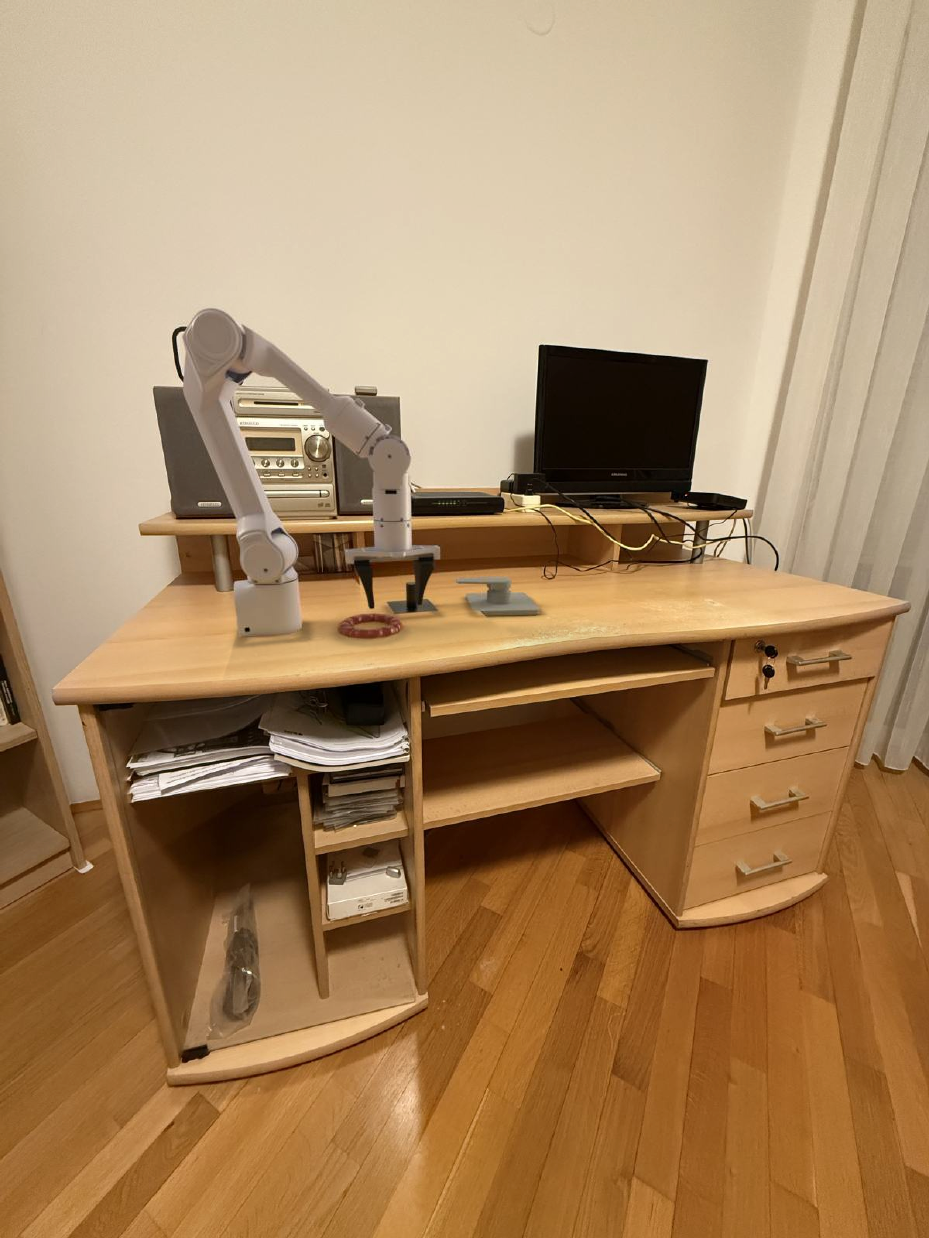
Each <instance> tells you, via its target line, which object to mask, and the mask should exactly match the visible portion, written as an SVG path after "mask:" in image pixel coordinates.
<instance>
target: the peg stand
mask: <svg viewBox="0 0 929 1238" xmlns="http://www.w3.org/2000/svg"><path fill="white" fill-rule="evenodd" d="M386 603H387V604H388V606H389V608H390V609H391V611H392V613H393V614H394V615H400V614H414V613H426V612H437V611H439V609H438V608H437V607H436V606H435V605H434V604H433V603H432V602H431V601H430V600H429V599H428V598H423V601H422V605H417V603H416V602H415V581H408V582H406V583H405V600H392V601H386Z"/></svg>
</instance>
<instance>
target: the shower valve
mask: <svg viewBox="0 0 929 1238" xmlns="http://www.w3.org/2000/svg"><path fill="white" fill-rule="evenodd" d="M455 583H456V584H458V585H486V587H487V588H488V589H487V591H486V592H468V593H466V594H465V601H467V602H468V603H469V604H470V606H471V608H472V610H473V611H475V612H480V613H481V614H482V615H484V616H485V617H496V616H498V617H499V616H536V615H539V614H540V607H539V606H538V605H537V604H536V602H534V601H533V600H532V598H531V597H530V596H529V595H528V594H527V593H526V592H523V591H522V592H521V591H520V592H519V591H518V592H517V591H515V592H514V591H513V592H511V590H510V589H511V588H512V579H511V578H510V577H506V576H477V577H456V578H455Z"/></svg>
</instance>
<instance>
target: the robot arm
mask: <svg viewBox="0 0 929 1238" xmlns="http://www.w3.org/2000/svg"><path fill="white" fill-rule="evenodd" d="M181 338H182V343H183V346H184V350H185V354H184V355H185V356H184V368H183V381H182V382H183V383H182V392H183V396H184V398H185V401H186V403H187V406H188V407H189V411H190V413H191V415H192V417H193V420H194V422H195V425H196V427H197V429H198V432H199V434H200V436H201V439H202V442H203V443H204V446H205V448H206V451H207V453H208V456H209V457H210V460H211V462H212V465H213V467H214V470H215V472H216V474H217V477H218V479H219V482H220V484H221V487H222V488H223V491H224V493H225V496H226V498H227V500H228V503H229V506H230V508H231V510H232V513H233V514H234V517H235V519H236V536H235V537H236V541H237V543H238V546H239V549H240V553H239V563H240V567H241V569H242V571H243V572H244V574H245V575H246V576H247V579H245V580H236V581H234V582H233V600H234V601H233V602H234V608H235V617H236V619H235V621H236V627H237V629H238V630H237V631H238V637H239V638H245V637H246V638H247V637H257V636H282V635H288V634H292V633H295V632H297V631H299V630H300V629H301V628H302V627H303V618H302V607H301V596H300V586H299V577H298V576H299V574H298V572H297V571H296V570H295V568H294V565H295V564H296V562H297V560H298V557H299V547H298V544H297V542H296V540H295V539H294V537H292V536H291V535H290V534H289V533H288V532H287V531H286V529H285V527H284V525H283V522H282V520H281V519H280V518H279V517H278V516H277V515H276V513H275V512H274V511H273V509H272V507H271V504H270V501H269V499H268V496H267V494H266V492H265V488H264V486H263V483H262V481H261V478H260V477H259V473H258V471H257V469H256V466H255V463H254V461H253V459H252V456H251V453H250V450H249V448H248V445H247V443H246V440H245V438H244V436H243V433H242V431H241V430H242V429H241V428H240V426H239V423H238V420H237V418H236V415H235V413H234V410H233V407H232V405H231V400H232V398H233V396H234V395H235V393H236V391H237V389H238V388H239V386H240V385H241V384H242V383H243V382H244V381H245V380H246V379H248V378H249V377H250V376H251V375H253V373H254V374H256V375H258V376H260V377H265V378H273V379H275V380H276V381H278V382H279V383H280V384H282V385H283V386H284V387H285V388H287V389H288V390H290V391H291V392H292V393H293V394H295V395H296V396H297V397H298V398H300V399H301V400H303V401H304V402H305V403H306V404H307V405H309V406H310V407H311V408H313V409H314V410H316V411H317V412H318V413H319V414H321V417H322V421H323V427H324V430H325V431H326V432H328V433H329V434H330V435H332V436H333V437H334V438H335V439H337V441H339V442H340V443H341V444H343V445H344V446H346V448H348V449H349V450H350V451H352V452H353V453H354V454H355V455H356V456H358V457H359V458H360V459H365V458H367V459H368V464H369V466H370V468H371V469H372V477H373V478H372V481H373V487H372V489H371V495H372V497H371V498H372V516H373V518H372V519H373V520H372V521H373V538H374V539H373V542H374V546H367V547H361V548H360V547H358V548H347V549H344V554H345V557H344V558H345V563H346V564H347V565H353V567H354V569H355V571H356V573H357V575H358V577H359V579H360V583H361V584H362V587H363V590H364V593H365V596H366V600H367V607H368V609H370V610H374V609H375V598H374V586H373V585H374V583H373V581H374V580H373V579H374V578H373V577H374V576H373V575H374V569H373V568H372V563H377V562H394V561H395V562H396V561H397V562H398V561H399V562H400V561H412V562H413V563H412V564H413V569H414V570H413V572H414V573H413V574H414V582H415V602H416V603H417V605H422V601H423V599H424V595H425V591H426V588H427V586H428V583H429V580H430V579H431V578H430V577H431V576H432V574H433V572H434V570H435V567H436V562H435V561H434V560H441V547H440V546H439V545H417V544H416V545H415V544H413V538H412V537H413V536H412V534H413V533H412V532H413V531H412V489H411V488H410V486H409V485H410V483H411V477H410V476H411V475H410V474H409V471H408V470H409V468H410V466H411V462H412V455H411V453H410V449H409V447H408V445H407V444H406V443H405V442H404V440H402V439H401V437H399V436H397V435H393V434H390V433H391V431H392V430H393V428H392V426H390V425H389V424H388V423H385V424H383V423H382V422H380V420H378V419H377V418H376V417H375V416H373V414H371V413H370V412H369V411H368V410H367V409H365V407H366V404H365V402H364V401H362V400H361V399H360V398H359V397H357V398H355V399H353V398H352V397H351V396H350V395H340V396H339V395H338V396H335V395H333V394H332V393H331V392H330V391H329V390H328V389H326V388H325V387H324V386H323V385H322V384H321V383H320V382H318V381H317V380H316V379H315V378H313V376H312V375H310V374H309V373H308V372H307V371H305V369H303V368H302V367H301V366H300V365H299V364H297V363H296V362H295V361H294V359H292V358H291V357H290V356H289V355H288V354H286V353H285V352H284V351H282V349H280V348H279V347H278V346H277V345H275V344H274V343H272V341H269V340H268V339H266V338H265V337H263V336H262V335H260V334H259V333H257V332H255V331H254V330H253V329H251V328H250V327H248V326H246V325H245V324H243V323H241V325H240V324H239V323H238V322H237V320H235V318H233V317H232V316H231V315H230V314H229V313H228V312H226V311H225V310H222V309H219V308H215V307H207V308H202V309H201V310H199V311H198V312H196V313H195V314H194V315H193V317H192V318H191V320H190V321H189V323H188V325H187V326H186V328H185V330H184V331H183V333H182V335H181ZM246 628H249V630H246Z"/></svg>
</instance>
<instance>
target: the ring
mask: <svg viewBox="0 0 929 1238" xmlns="http://www.w3.org/2000/svg"><path fill="white" fill-rule="evenodd" d="M370 622H376V623H384V624H385V625H387V626H384V627H380V628H370V629H366V628H365V629H364V628H356V627H354V626H356V625H358V624H363V623H370ZM337 628H338V629H337V630H338V632H339V634H341V635H343V636H346V637H348V638H351V639H352V638H353V639H363V640H368V639H369V640H370V639H379V638H380V639H381V638H386V637H389V636H392V635H396V634H398V633H400V631H402V629H403V628H404V625H403V623H402V621H401V620H400V618H399V617H397V616H393V615H390V614H387V613H374V612H372V613H361V614H355V615H352V616H348V617H346V618H345V619H343V620H342V621H341V622H340V623H338V626H337Z"/></svg>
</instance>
